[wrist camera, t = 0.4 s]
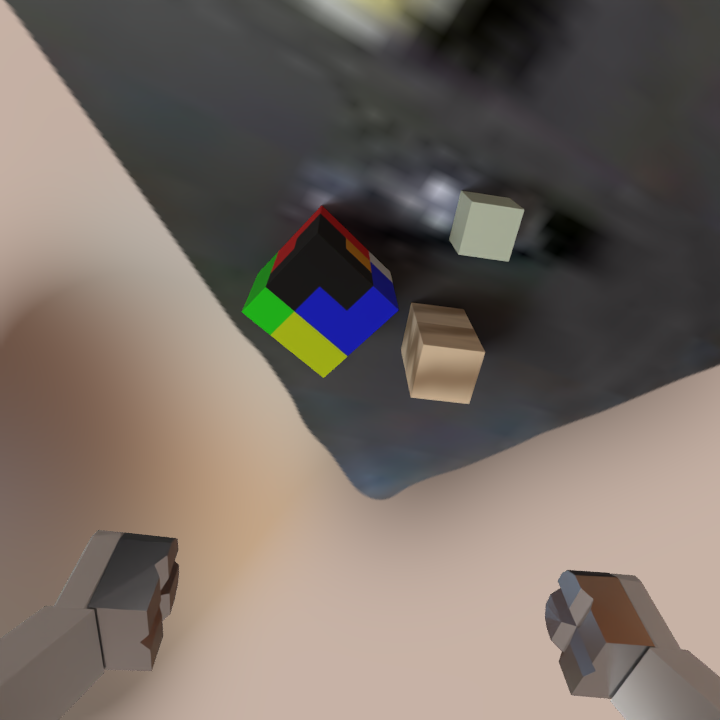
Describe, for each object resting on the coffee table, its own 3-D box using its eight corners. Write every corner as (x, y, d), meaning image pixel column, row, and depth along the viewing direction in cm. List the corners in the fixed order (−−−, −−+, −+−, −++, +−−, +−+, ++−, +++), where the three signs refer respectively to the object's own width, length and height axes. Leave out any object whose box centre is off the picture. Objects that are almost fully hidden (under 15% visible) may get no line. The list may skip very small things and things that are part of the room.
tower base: (411, 302, 56) (416, 321, 52) (463, 309, 57) (473, 329, 52) (400, 349, 59) (405, 371, 55) (450, 355, 60) (459, 377, 55)
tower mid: (416, 321, 52) (423, 344, 47) (473, 328, 52) (485, 352, 48) (405, 371, 55) (410, 397, 50) (459, 377, 55) (469, 403, 51)
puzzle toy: (390, 271, 54) (399, 310, 46) (326, 331, 58) (323, 377, 49) (321, 205, 51) (317, 232, 42) (258, 273, 54) (241, 311, 45)
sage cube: (461, 190, 50) (471, 201, 46) (509, 197, 51) (524, 209, 46) (449, 239, 53) (458, 254, 48) (495, 246, 53) (508, 261, 49)
